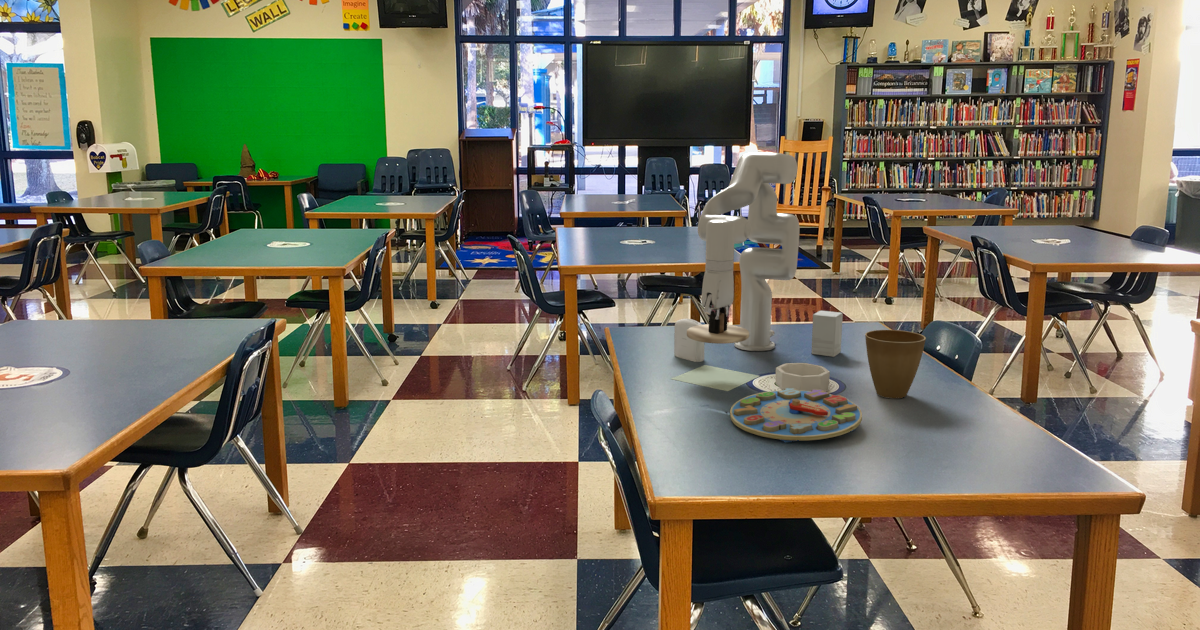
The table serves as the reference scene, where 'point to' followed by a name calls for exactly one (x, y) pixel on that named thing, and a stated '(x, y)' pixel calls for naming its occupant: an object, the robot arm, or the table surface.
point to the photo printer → (687, 342)
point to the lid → (728, 336)
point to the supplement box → (827, 333)
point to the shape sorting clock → (796, 414)
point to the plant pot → (893, 360)
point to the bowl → (802, 377)
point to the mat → (715, 377)
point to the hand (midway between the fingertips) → (717, 330)
